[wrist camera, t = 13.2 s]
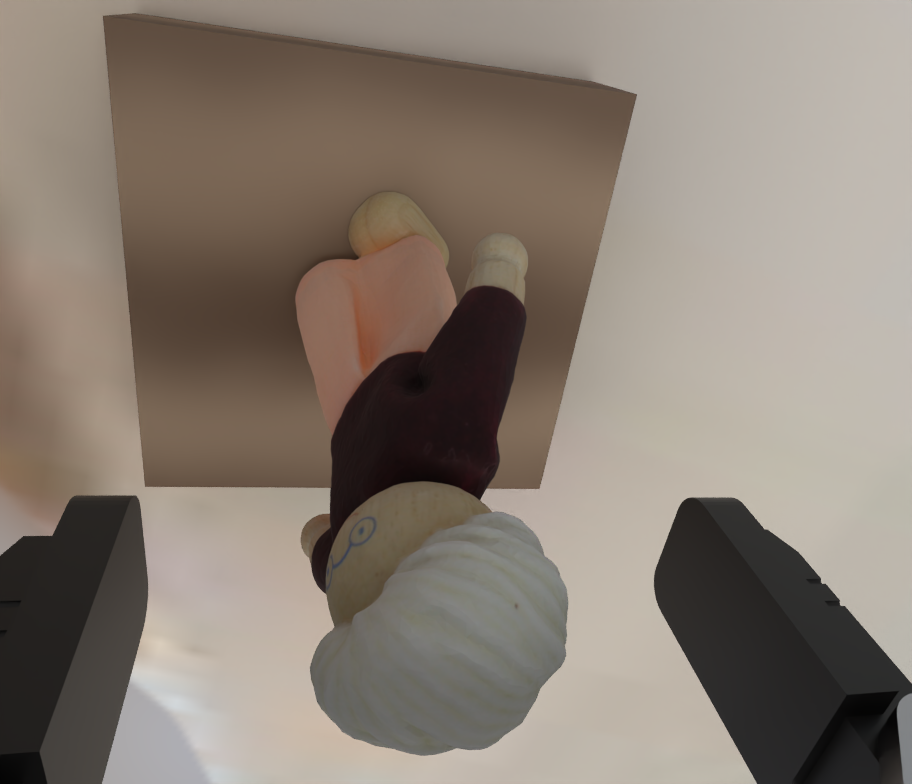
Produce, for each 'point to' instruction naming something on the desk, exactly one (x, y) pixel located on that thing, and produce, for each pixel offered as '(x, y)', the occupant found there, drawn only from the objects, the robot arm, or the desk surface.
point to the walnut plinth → (330, 225)
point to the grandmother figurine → (422, 492)
